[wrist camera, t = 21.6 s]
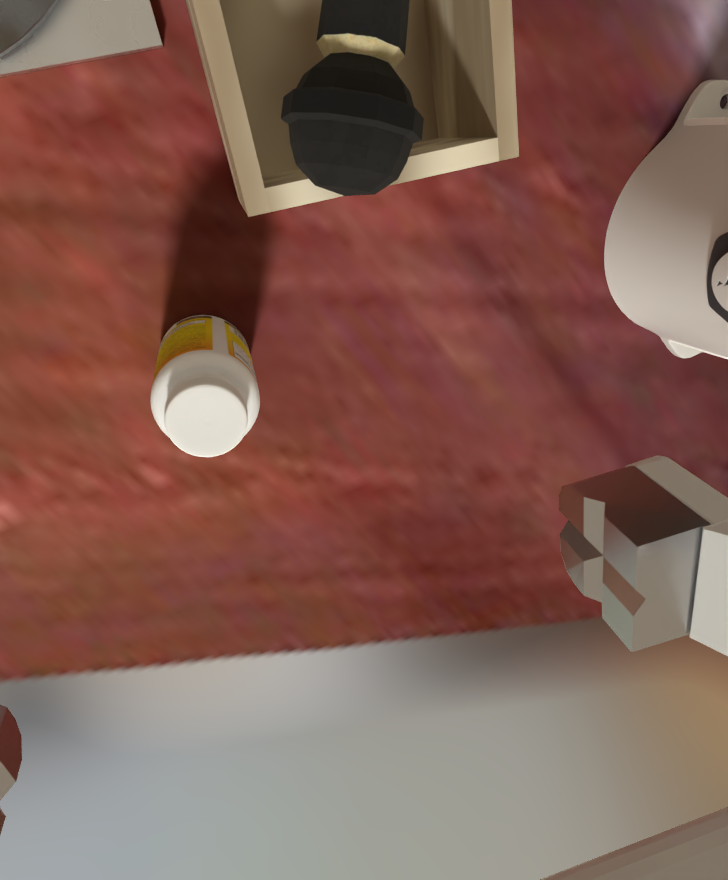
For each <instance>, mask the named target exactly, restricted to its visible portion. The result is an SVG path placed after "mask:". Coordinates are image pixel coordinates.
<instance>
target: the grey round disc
mask: <svg viewBox="0 0 728 880" xmlns="http://www.w3.org/2000/svg"><path fill="white" fill-rule="evenodd" d="M59 1H60V0H0V57H2V56H4V55H6V54H7V53H9V52H10V51H12V50H13V49H14V48H16V47H17V46H19V45H20V44H22V43H23V42H24V41H26V40H27V39H28V38H29V37H30V36H31V35H32V34H33V33H34V32H35V31H36V30H37V29H38V28H39V27H40V26H41V25H42V24H43V23H44V22H45V21H46V19H47V18H48V17H49V15H50V14H51V12H52V11H53V10H54V8H55V7H56V6H57V4H58V3H59Z"/></svg>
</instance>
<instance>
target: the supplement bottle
mask: <svg viewBox="0 0 728 880" xmlns="http://www.w3.org/2000/svg"><path fill="white" fill-rule="evenodd" d="M259 407H260V395H259V389H258V385H257V380H256V376H255V372H254V368H253V364H252V359H251V355H250V351H249V348H248V345H247V342H246V340H245V338H244V337H243V335H242V334H241V333H240V331H239V330H238V329H237V328H236V327H235V326H233V325H232V324H231V323H229V322H227V321H226V320H224V319H221V318H219V317H215V316H210V315H196V316H191V317H188V318H185V319H182V320H180V321H179V322H177V323H176V324H174V325H173V326H172V327H171V328H170V329H169V330H168V331H167V333H166V334H165V336H164V338H163V340H162V342H161V345H160V348H159V353H158V358H157V363H156V368H155V374H154V379H153V384H152V390H151V408H152V412H153V416H154V418H155V420H156V422H157V424H158V425H159V427H160V428H161V430H162V431H163V432H164V433H165V434H166V435H167V436H168V437H169V438H170V439H171V440H172V442H173V443H174V444H175V445H176V446H177V447H178V448H180V449H181V450H183V451H184V452H186V453H188V454H191V455H194V456H199V457H214V456H218V455H222V454H224V453H226V452H228V451H230V450H231V449H233V448H234V447H235V446H236V445H237V444H238V443H239V442H240V441H241V440H242V438H243V436H245V435H246V433H247V432H248V431H249V430H250V429H251V427H252V426H253V424H254V422H255V420H256V418H257V416H258V412H259Z"/></svg>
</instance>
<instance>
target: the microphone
mask: <svg viewBox="0 0 728 880" xmlns="http://www.w3.org/2000/svg"><path fill="white" fill-rule="evenodd" d="M409 2H410V0H322V5H321V12H320V19H319V26H318V33H317V40H316V43H317V45H318V47H319V49H320V51H321V52H322V54H323V56H324V59H323V60H321V61H320V62H319V63H317V64H316V65H315V66H314V67H312V68H311V69H310V70H309V71H307V72H306V73H305V74H304V75H303V76H302V78H301V80H300V82H299V83H298V85H297V87H296V89H293V90H292V91H290V92H289V93H288V94H286V95H285V96H284V97H283V104H282V112H281V119H282V120H283V121H284V122H286V123H287V124H288V125H289V135H290V145H291V148H292V152H293V156H294V160H295V163H296V165H297V166H298V167H299V169H300V170H301V171H302V172H303V173H304V174H305V175H306V176H307V177H308V178H309V180H310V181H311V182H312V183H313V184H314V185H315V186H318V187H321V188H323V189H326V190H329V191H332V192H335V193H338V194H340V195H343V196H352V195H370V194H376V193H377V192H379V191H381V190H382V189H384V188H385V187H387V186H388V185H390V184H391V183H393V182H394V181H396V180H398V178H399V176H400V174H401V172H402V170H403V168H404V167H405V165H406V163H407V161H408V157H409V154H410V151H411V148H412V145H413V143H416V142H418V141H421V140H422V133H423V122H424V118H423V117H422V116H421V114H420V113H419V112H418V111H417V109H416V108H415V107H414V104H413V101H412V97H411V93H410V91H409V89H408V88H407V87H406V85H405V84H404V83H403V81H402V80H401V79H400V77H399V76H398V74H397V73H396V72H395V70H394V68H395V67H396V66H397V65H398V64H399V63H400V62H401V60H402V59H403V58H404V57H405V50H406V38H407V26H408V14H409Z"/></svg>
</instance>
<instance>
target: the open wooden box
mask: <svg viewBox="0 0 728 880" xmlns="http://www.w3.org/2000/svg"><path fill="white" fill-rule="evenodd" d="M186 4H187V7H188V11H189V15H190V19H191V22H192V26H193V30H194V34H195V38H196V41H197V45H198V49H199V53H200V57H201V60H202V64H203V68H204V72H205V76H206V79H207V83H208V87H209V91H210V95H211V98H212V102H213V106H214V110H215V113H216V117H217V121H218V125H219V129H220V132H221V136H222V140H223V144H224V148H225V151H226V155H227V159H228V163H229V167H230V170H231V174H232V178H233V182H234V186H235V189H236V193H237V197H238V200H239V202H240V203H241V205H242V207H243V209H244V210H245V212H246V214H247V215H248V217H251V216H255V215H260V214H264V213H269V212H273V211H278V210H282V209H287V208H291V207H296V206H300V205H305V204H309V203H314V202H318V201H322V200H327V199H331V198H336V197H340V196H343V195H340V194H338V193H335V192H332V191H329V190H326V189H323V188H321V187H318V186H315V185H314V184H313V183H312V182H311V181H310V180H309V178H308V177H307V176H306V175H305V174H304V173H303V172H302V171H301V170H300V169H299V167H298V166H297V165H296V163H295V160H294V156H293V152H292V148H291V145H290V135H289V125H288V124H287V123H286V122H284V121H283V120H282V119H281V112H282V104H283V97H284V96H285V95H286V94H288V93H289V92H290V91H292V90H293V89H296V87H297V85H298V83H299V82H300V80H301V78H302V76H303V75H304V74H305V73H306V72H307V71H309V70H310V69H311V68H312V67H314V66H315V65H316V64H317V63H319V62H320V61H321V60H323V59H324V56H323V54H322V52H321V51H320V49H319V47H318V45H317V43H316V40H317V33H318V26H319V19H320V12H321V5H322V0H186ZM394 70H395V72H396V73H397V74H398V76H399V77H400V79H401V80H402V81H403V83H404V84H405V85H406V87H407V88H408V89H409V91H410V93H411V97H412V101H413V104H414V107H415V108H416V109H417V111H418V112H419V113H420V114H421V116H422V117H423V118H424V122H423V133H422V140H421V141H418V142H416V143H413V145H412V148H411V151H410V154H409V157H408V161H407V163H406V165H405V167H404V168H403V170H402V172H401V174H400V176H399V178H398V180H396V181H394V182H393V183H391V184H390V185H394V184H398V183H403V182H407V181H412V180H416V179H421V178H425V177H430V176H434V175H439V174H443V173H448V172H452V171H457V170H461V169H466V168H470V167H474V166H479V165H483V164H488V163H492V162H497V161H501V160H506V159H510V158H515V157H519V148H518V127H517V106H516V85H515V64H514V43H513V22H512V1H511V0H410V2H409V14H408V26H407V38H406V50H405V57H404V58H403V59H402V60H401V62H400V63H399V64H398V65H397V66H396V67H395V68H394ZM390 185H388V186H390Z"/></svg>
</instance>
